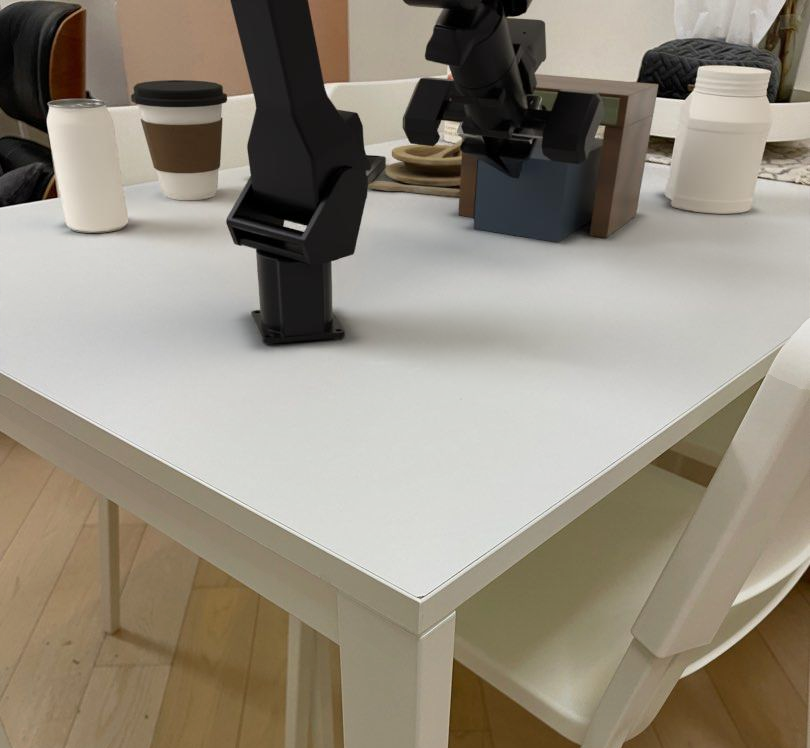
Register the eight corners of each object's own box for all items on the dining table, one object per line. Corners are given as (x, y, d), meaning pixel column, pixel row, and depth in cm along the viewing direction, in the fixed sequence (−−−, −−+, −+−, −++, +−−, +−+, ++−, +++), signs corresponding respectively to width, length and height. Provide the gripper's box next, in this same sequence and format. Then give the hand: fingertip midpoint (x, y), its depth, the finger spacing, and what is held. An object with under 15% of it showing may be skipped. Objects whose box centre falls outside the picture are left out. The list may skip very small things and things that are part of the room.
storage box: (558, 242, 92) (568, 162, 87) (473, 228, 95) (478, 151, 91) (603, 211, 103) (613, 139, 99) (526, 200, 107) (532, 131, 103)
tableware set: (247, 179, 113) (243, 130, 110) (299, 153, 129) (297, 109, 125) (467, 198, 107) (470, 147, 104) (493, 169, 123) (497, 123, 120)
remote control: (387, 156, 122) (367, 177, 110) (386, 164, 123) (367, 186, 111) (333, 153, 123) (307, 173, 111) (333, 161, 124) (308, 182, 111)
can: (53, 228, 91) (28, 103, 84) (97, 215, 96) (77, 96, 89) (98, 237, 89) (76, 109, 82) (141, 224, 93) (124, 101, 87)
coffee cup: (142, 186, 108) (127, 79, 101) (229, 183, 111) (220, 79, 104) (147, 207, 100) (131, 91, 93) (241, 202, 102) (232, 90, 96)
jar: (755, 215, 104) (789, 76, 95) (675, 211, 104) (702, 72, 96) (734, 194, 113) (763, 65, 105) (661, 191, 114) (684, 62, 105)
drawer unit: (605, 239, 93) (627, 96, 85) (455, 216, 100) (463, 81, 92) (636, 215, 102) (658, 84, 94) (497, 195, 109) (508, 71, 101)
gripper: (615, -13, 72) (628, 116, 87) (419, -21, 79) (462, 99, 94) (572, 101, 71) (593, 212, 85) (377, 82, 78) (426, 188, 92)
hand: (516, 174), depth 89 cm, fingers closed
